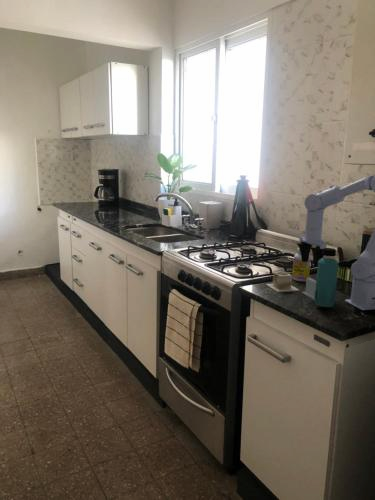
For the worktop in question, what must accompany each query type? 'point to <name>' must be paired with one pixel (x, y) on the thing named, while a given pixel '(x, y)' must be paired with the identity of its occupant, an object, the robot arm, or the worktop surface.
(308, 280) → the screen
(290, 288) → the tile
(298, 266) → the supplement bottle
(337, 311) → the worktop surface
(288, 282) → the letter cube
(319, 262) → the beverage bottle
